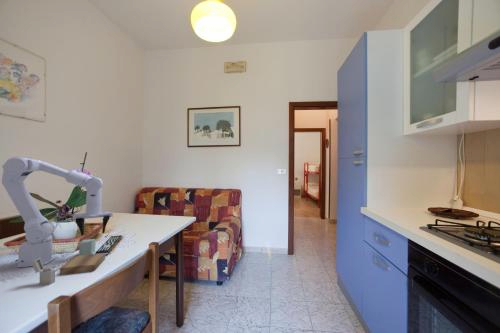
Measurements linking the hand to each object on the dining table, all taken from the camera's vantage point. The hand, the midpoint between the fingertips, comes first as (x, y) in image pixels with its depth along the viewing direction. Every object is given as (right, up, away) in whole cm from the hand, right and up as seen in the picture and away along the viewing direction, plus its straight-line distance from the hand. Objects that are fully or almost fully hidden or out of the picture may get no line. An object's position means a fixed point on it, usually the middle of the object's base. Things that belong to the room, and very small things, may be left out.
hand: (93, 233), depth 95 cm
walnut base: (+5, -10, -11) cm, 16 cm away
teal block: (-3, -9, 0) cm, 10 cm away
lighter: (0, -10, -23) cm, 25 cm away
